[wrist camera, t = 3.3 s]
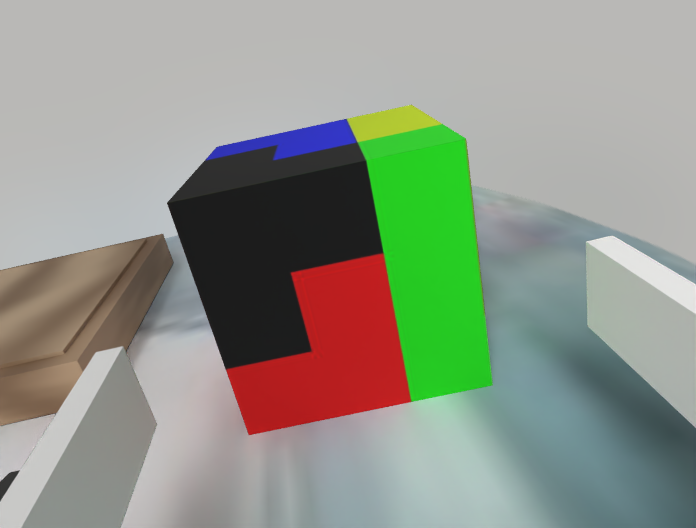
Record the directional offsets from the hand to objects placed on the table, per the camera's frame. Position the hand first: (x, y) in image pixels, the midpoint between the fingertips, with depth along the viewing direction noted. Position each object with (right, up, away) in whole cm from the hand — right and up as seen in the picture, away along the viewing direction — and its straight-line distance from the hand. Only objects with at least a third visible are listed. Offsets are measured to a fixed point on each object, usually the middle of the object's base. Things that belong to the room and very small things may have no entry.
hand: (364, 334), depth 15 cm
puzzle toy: (0, -2, +11) cm, 11 cm away
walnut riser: (-22, -3, +19) cm, 29 cm away
